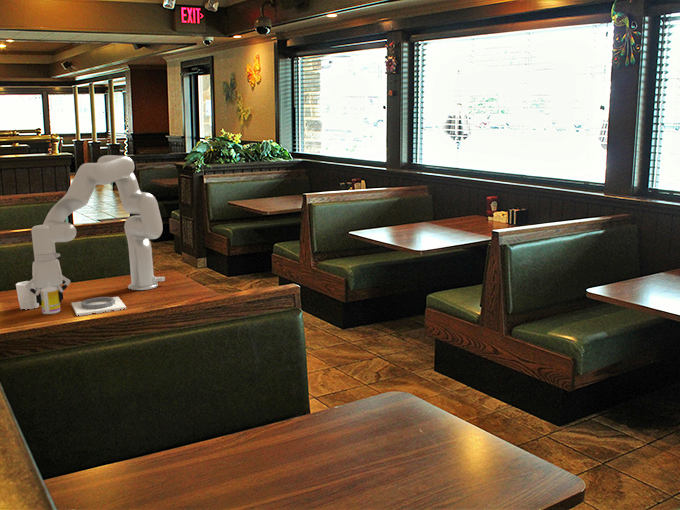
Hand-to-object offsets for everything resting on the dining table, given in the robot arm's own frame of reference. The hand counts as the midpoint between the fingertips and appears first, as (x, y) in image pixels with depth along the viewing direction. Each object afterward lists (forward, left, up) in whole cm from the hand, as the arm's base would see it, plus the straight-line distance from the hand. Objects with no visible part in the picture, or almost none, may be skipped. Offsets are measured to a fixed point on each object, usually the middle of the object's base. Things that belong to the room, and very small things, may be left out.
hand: (50, 302), depth 254 cm
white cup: (+7, -12, -4) cm, 14 cm away
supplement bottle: (0, 0, -4) cm, 4 cm away
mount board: (-17, +2, -4) cm, 18 cm away
